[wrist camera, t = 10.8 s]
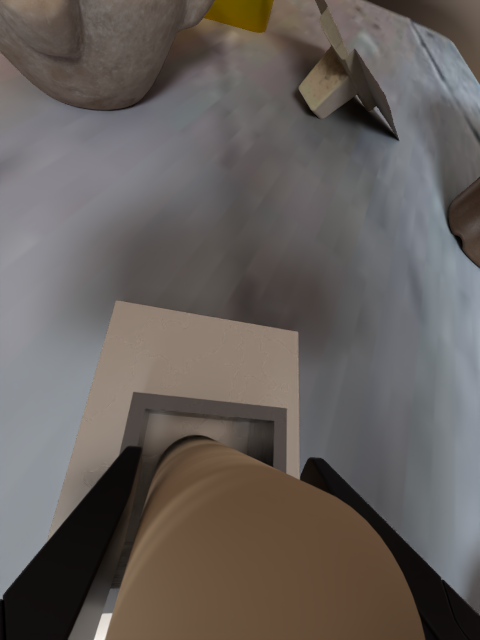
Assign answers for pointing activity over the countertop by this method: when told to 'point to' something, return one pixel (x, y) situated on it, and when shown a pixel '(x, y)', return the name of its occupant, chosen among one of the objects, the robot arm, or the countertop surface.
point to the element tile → (242, 13)
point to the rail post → (254, 558)
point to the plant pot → (467, 220)
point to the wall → (341, 77)
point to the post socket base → (182, 402)
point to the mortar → (94, 45)
